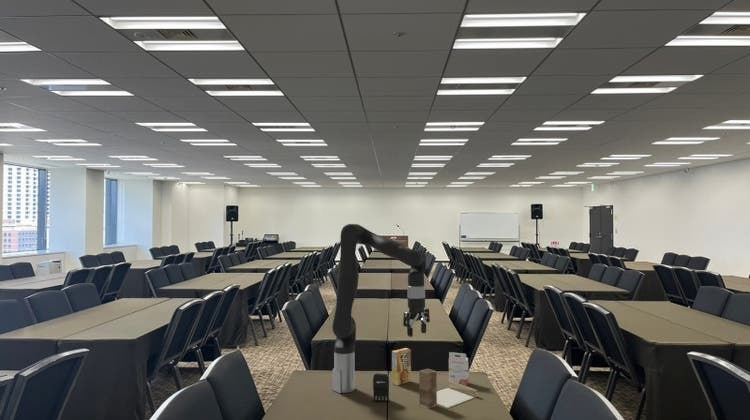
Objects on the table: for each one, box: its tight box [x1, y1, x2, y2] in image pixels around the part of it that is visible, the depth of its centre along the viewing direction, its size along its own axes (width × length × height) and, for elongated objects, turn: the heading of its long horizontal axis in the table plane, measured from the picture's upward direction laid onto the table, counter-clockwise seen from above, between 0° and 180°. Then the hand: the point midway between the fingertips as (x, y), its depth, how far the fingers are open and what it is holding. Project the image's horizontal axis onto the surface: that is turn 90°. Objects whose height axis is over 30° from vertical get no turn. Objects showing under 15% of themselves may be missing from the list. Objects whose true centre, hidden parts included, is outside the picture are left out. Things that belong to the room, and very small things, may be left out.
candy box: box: [391, 347, 412, 386], centre depth 221 cm, size 9×4×15 cm, turn 129°
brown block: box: [418, 368, 438, 409], centre depth 193 cm, size 5×5×14 cm
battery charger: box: [372, 372, 390, 403], centre depth 198 cm, size 7×4×11 cm, turn 86°
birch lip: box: [448, 380, 478, 399], centre depth 207 cm, size 2×15×3 cm, turn 39°
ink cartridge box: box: [448, 351, 470, 387], centre depth 219 cm, size 9×5×15 cm, turn 68°
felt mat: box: [437, 387, 475, 409], centre depth 201 cm, size 17×15×1 cm
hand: (417, 334), depth 198 cm, fingers open, 8 cm apart
